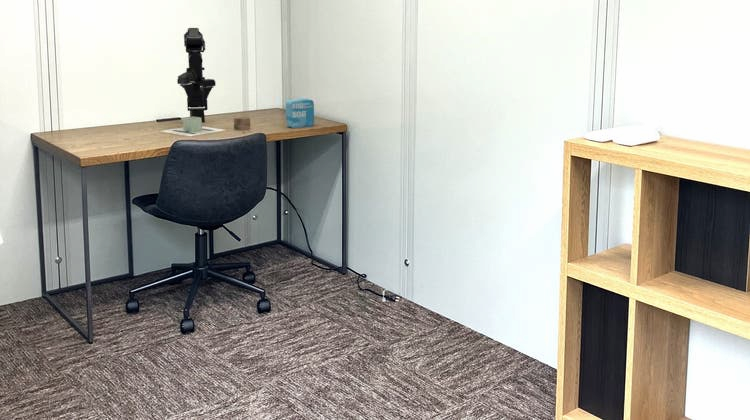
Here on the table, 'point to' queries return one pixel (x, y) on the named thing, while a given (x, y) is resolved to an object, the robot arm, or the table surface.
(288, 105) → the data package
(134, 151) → the table surface
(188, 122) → the sage cube
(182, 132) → the board
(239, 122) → the walnut block
